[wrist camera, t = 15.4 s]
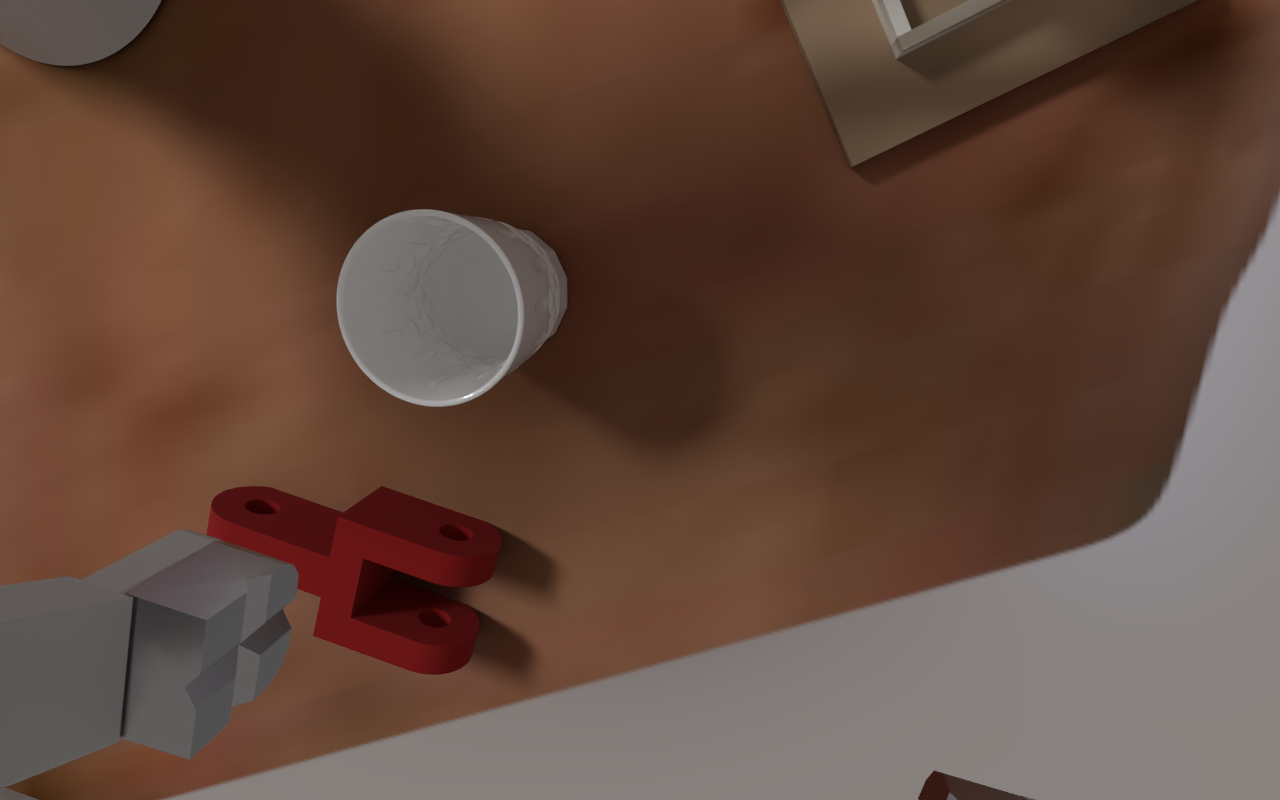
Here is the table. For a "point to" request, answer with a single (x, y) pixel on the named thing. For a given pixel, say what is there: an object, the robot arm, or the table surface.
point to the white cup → (447, 303)
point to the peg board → (942, 56)
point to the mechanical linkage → (372, 568)
